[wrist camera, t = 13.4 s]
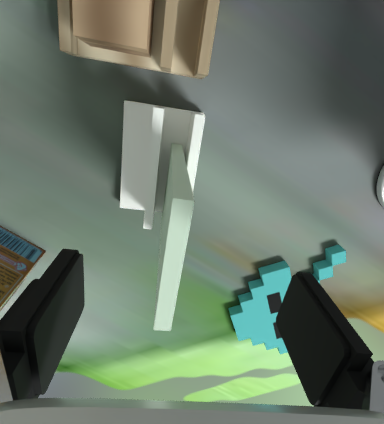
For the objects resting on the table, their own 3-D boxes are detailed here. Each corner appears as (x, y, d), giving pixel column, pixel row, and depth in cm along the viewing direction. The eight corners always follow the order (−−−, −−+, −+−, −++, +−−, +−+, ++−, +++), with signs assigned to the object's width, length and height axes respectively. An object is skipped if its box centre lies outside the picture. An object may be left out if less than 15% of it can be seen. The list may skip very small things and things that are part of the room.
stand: (202, 112, 30) (210, 116, 24) (186, 210, 35) (190, 232, 29) (126, 100, 29) (115, 100, 23) (121, 203, 34) (111, 225, 28)
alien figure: (337, 243, 40) (218, 277, 41) (345, 250, 38) (220, 287, 39) (341, 325, 49) (243, 352, 50) (349, 335, 47) (246, 363, 48)
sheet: (181, 144, 30) (194, 201, 14) (170, 218, 34) (170, 331, 18) (171, 143, 30) (172, 198, 13) (161, 217, 34) (153, 330, 17)
